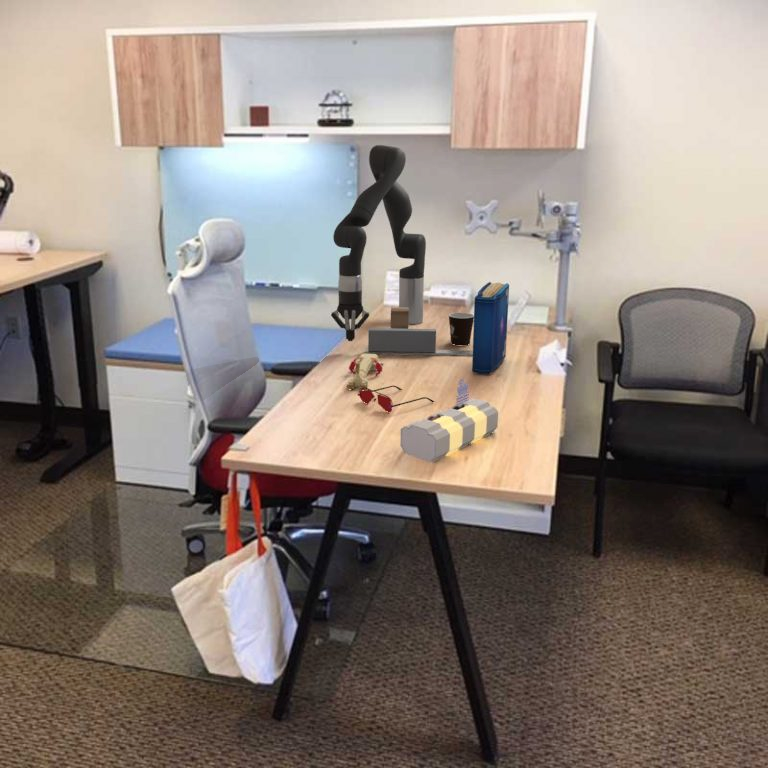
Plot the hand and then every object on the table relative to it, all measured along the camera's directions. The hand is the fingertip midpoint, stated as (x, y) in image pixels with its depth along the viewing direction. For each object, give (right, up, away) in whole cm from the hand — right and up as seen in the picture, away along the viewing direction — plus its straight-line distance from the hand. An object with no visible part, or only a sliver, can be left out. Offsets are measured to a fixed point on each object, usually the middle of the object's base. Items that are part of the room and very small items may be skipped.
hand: (350, 340), depth 269 cm
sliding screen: (+17, -4, +1) cm, 17 cm away
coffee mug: (+37, 0, +15) cm, 40 cm away
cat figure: (+5, -13, -25) cm, 28 cm away
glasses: (+14, -20, -46) cm, 52 cm away
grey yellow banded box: (+27, -29, -74) cm, 83 cm away
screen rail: (+25, -4, +1) cm, 25 cm away
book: (+44, -9, -13) cm, 46 cm away
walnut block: (+16, 0, +13) cm, 21 cm away
